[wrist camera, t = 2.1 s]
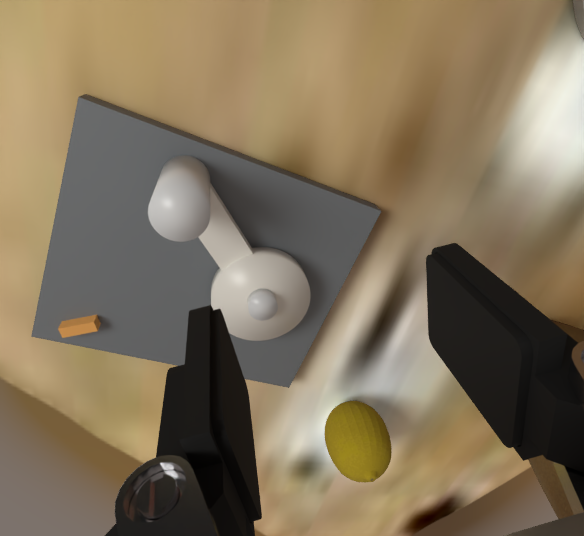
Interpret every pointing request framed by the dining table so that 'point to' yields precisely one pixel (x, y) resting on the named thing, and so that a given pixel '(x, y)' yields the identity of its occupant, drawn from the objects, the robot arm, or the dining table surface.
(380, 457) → the lemon
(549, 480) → the plant pot
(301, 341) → the stand board
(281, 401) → the dining table surface
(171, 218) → the white lever handle
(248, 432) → the robot arm
